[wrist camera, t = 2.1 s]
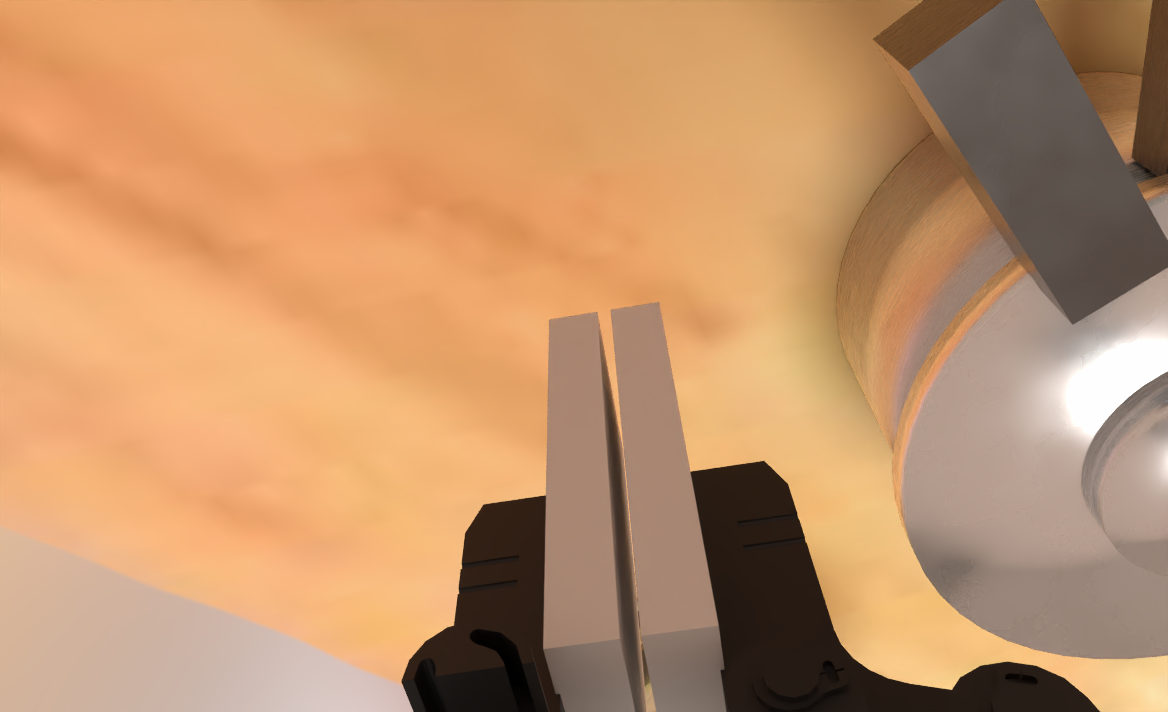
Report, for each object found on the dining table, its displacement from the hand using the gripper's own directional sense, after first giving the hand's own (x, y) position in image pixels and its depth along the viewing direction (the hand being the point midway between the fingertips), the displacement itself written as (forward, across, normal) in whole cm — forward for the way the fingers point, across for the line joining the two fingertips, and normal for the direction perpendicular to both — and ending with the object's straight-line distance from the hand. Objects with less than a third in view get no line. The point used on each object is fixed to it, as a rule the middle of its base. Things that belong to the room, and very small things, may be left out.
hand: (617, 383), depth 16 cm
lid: (+13, +16, -10) cm, 23 cm away
